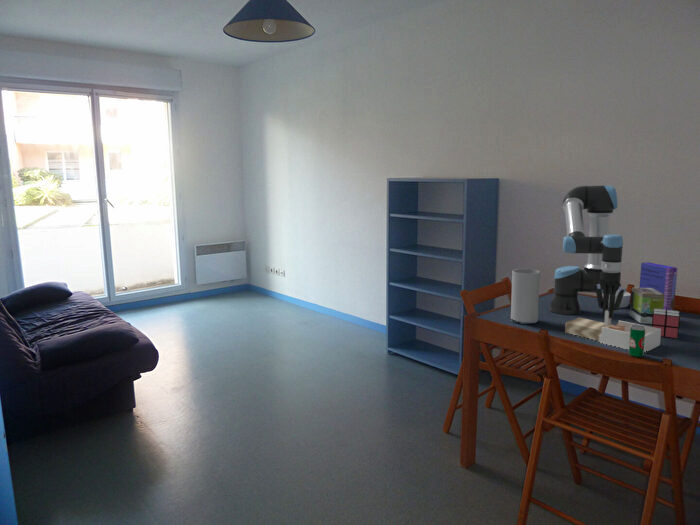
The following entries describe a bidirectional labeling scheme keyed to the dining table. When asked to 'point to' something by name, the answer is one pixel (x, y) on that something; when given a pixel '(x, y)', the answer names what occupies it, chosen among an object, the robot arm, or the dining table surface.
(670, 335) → the puzzle cube
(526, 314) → the cylinder vase
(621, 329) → the rear tile
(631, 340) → the soda can
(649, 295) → the tea box
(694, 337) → the dining table surface
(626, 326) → the box
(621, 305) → the ramekin
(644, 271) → the cereal box
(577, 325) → the birch plate
